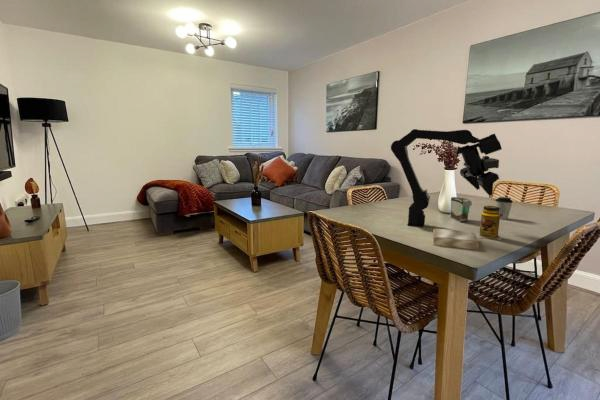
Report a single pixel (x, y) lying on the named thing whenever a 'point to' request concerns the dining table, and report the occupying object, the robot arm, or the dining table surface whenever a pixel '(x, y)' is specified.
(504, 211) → the coffee cup
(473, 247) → the picture frame
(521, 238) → the dining table surface
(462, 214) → the food container
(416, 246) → the dining table surface
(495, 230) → the condiment
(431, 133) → the robot arm
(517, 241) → the dining table surface
